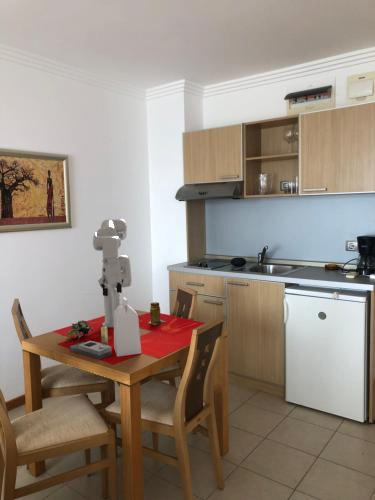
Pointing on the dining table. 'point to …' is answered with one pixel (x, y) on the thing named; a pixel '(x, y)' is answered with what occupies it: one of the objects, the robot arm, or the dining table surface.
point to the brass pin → (104, 335)
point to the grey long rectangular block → (92, 349)
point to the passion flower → (80, 329)
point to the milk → (126, 330)
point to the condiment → (155, 314)
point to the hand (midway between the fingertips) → (112, 294)
